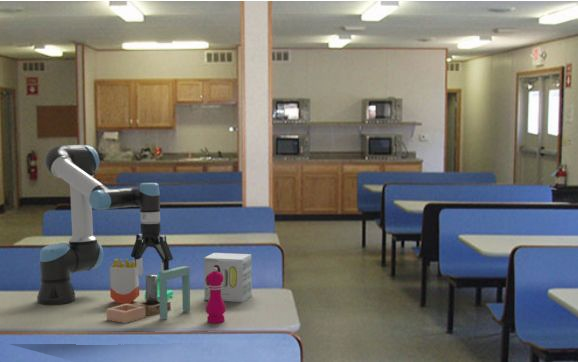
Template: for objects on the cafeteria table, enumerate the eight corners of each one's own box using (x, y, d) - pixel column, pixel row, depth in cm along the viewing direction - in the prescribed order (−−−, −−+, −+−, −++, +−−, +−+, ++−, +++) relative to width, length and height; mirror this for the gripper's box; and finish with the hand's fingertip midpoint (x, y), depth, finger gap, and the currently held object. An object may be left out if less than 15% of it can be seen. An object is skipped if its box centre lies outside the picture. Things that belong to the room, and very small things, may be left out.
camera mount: (161, 303, 276) (161, 278, 276) (144, 302, 278) (144, 277, 278) (174, 296, 288) (173, 272, 287) (157, 295, 290) (157, 272, 289)
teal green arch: (159, 317, 252) (158, 271, 251) (184, 309, 263) (183, 266, 262) (165, 318, 250) (164, 272, 249) (190, 310, 262) (189, 266, 260)
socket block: (133, 311, 262) (133, 304, 262) (152, 306, 270) (152, 298, 270) (152, 315, 257) (152, 307, 256) (170, 309, 265) (170, 302, 265)
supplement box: (203, 300, 279) (202, 257, 278) (214, 293, 292) (213, 252, 291) (243, 302, 275) (242, 259, 274) (252, 295, 288) (252, 253, 287)
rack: (106, 319, 251) (106, 308, 251) (126, 313, 259) (126, 303, 259) (125, 323, 245) (125, 312, 245) (145, 317, 254) (145, 306, 253)
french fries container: (114, 300, 281) (113, 257, 280) (139, 300, 280) (138, 257, 279) (110, 302, 277) (109, 259, 276) (135, 303, 275) (134, 259, 274)
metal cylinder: (144, 311, 263) (143, 275, 262) (152, 308, 267) (151, 273, 266) (152, 312, 260) (151, 276, 260) (160, 310, 264) (159, 274, 263)
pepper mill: (206, 318, 251) (205, 265, 250) (225, 318, 251) (225, 265, 250) (205, 324, 244) (204, 269, 242) (225, 323, 244) (224, 268, 243)
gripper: (120, 222, 265) (122, 275, 266) (167, 225, 251) (168, 281, 252) (135, 220, 271) (136, 272, 273) (181, 223, 258) (182, 278, 259)
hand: (152, 277), depth 262 cm, fingers open, 13 cm apart
